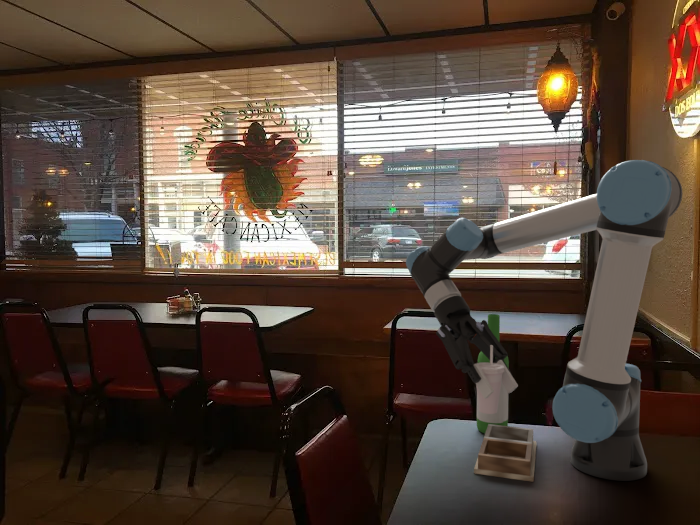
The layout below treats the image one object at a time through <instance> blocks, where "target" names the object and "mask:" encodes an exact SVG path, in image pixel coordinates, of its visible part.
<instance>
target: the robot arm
mask: <svg viewBox="0 0 700 525" xmlns="http://www.w3.org/2000/svg"><path fill="white" fill-rule="evenodd" d="M682 200H683V186H682V184H681V182H680V179H679V178H678V177H677V175H676V174H675V173H674V172H672V171H671V170H669V169H668V168H665V167H664V166H661V165H659V164H658V163H656V162H654V161H651V160H650V161H649V160H644V159H641V160H640V159H630V160H625V161H622V162H620V163H617V164H616V165H614V166H612V167H611V168H609V170H607V172H605V174H604V175H603V176H602V177H601V179H600V181H599V183H598V186H597V189H596V193H594V194H590V195H588V196H584V197H580V198H576V199H573V200H569V201H566V202H563V203H560V204H557V205H553V206H550V207H549V206H548V207H546V208H543V209H539V210H536V211H532V212H530V213H529V212H528V213H525V214H523V215H519V216H516V217H515V216H514V217H513V218H508V219H505V220H502V221H499V222H495V223H493V224H492V223H491V224H487V225H484V226H482V227H479V226H478V225H477V224H476V223H475V222H474V221H472V219H471V220H470V219H468V218H466V217H459V218H457V219H456V220H455V221H454V222H453V223H451V224H450V225H449V226H448V227H447V228H446V230H445V231H444V233H442V234H441V236H439V237H438V239H437V240H435V242H434V243H433V244H432V246H427V245H424V246H419V247H417V248H416V249H415V250H412V251H411V252H410V253H409V254H408V255H407V257H406V259H405V265H406V268H407V270H408V272H409V273H410V274H409V275H410V277H411V279H413V280H414V282H415V284H416V285H417V287H418V289H419V290H420V292H421V293H422V296H423V297H424V299H425V301H426V303H427V304H428V306H429V307H430V309H431V311H432V312H433V315H434V316H435V318H436V320H437V321H438V323H439V324H440V326H439V328H438V330H436V332H435V334H436V336H437V337H438V338H439V339H440V340H441V342H442V344H443V346H444V348H445V350H446V352H447V353H448V356H449V358H450V359H451V362H452V364H453V366H454V367H455V369H456V370H461V373H463V374H466V373H467V374H468V376H469V378H470V379H471V381H472V382H473V384H475V386H476V385H477V387H478V388H479V390H480V392H481V393H482V395H483V397H484V398H488V397H489V396H490V395H491V394H492V393H493V392H494V390H493V388H492V386H491V385H490V383H489V381H488V380H487V378H486V376H485V375H484V373H483V372H482V370H481V368H480V367H479V365H478V364H476V363H475V362H474V359H473V355H472V352H471V349H470V346H469V343H470V344H472V345H473V344H474V345H475V346H476V347H477V348H478V349H479V350H480V352H481V351H482V353H483V354H484V355H485V356H486V357H487V358H488V359H489V360H490V345H493V363H497V364H501V365H503V366H504V372H503V373H502V381H501V382H502V383H503V385H504V387H505V388H506V390H507V391H508V394H510V393H512V392H513V391H515V390H516V389H517V388H518V387H519V384H518V383H517V381H516V380H515V378H514V377H513V375H512V372H511V370H510V369H509V368H508V367H507V365H506V364H505V362H504V359H505V358H506V357H507V356H509V354H508V351H506V349H505V348H504V346H503V345H502V344H501V342H500V340H499V341H498V340H497V338H496V337H495V336H494V334H493V333H492V331H491V330H490V329H489V326H488V321H486V320H485V319H483V320H482V321H481V322H480V321H476V319H475V318H474V317H472V315H471V308H470V306H469V305H468V303H467V302H466V300H465V298H464V297H463V296H462V293H461V291H459V289H458V287H457V286H456V284H455V283H454V281H453V280H452V278H451V276H450V274H451V273H452V272H453V271H454V270H455V269H456V268H457V267H459V265H460V264H461V263H462V262H463V261H466V260H467V261H468V260H480V259H481V260H486V259H487V260H488V259H492V258H495V257H496V256H498V255H503V254H505V253H509V252H513V251H517V250H521V249H526V248H529V247H533V246H537V245H541V244H545V243H549V242H553V241H557V240H560V239H564V238H565V239H566V238H568V237H572V236H577V235H580V234H585V233H589V232H592V231H597V232H598V233H599V235H600V236H601V239H602V240H601V245H600V251H599V254H598V260H597V265H596V270H595V273H594V278H593V282H592V287H591V292H590V296H589V302H588V306H587V310H586V315H585V319H584V320H585V321H584V325H583V329H582V330H583V331H582V333H581V340H580V343H579V348H578V352H577V353H578V354H577V356H576V357H575V358H573V359H572V360H570V361H568V363H567V365H566V371H565V374H564V379H563V384H562V387H560V388H559V389H558V391H557V392H556V393H555V396H554V397H553V401H552V409H551V410H552V414H553V415H552V416H553V417H554V419H555V422H556V423H557V425H558V426H559V427H560V429H561V430H562V432H564V433H565V434H566V435H567V436H568V437H570V438H572V439H574V442H573V444H572V447H571V450H570V464H571V465H572V466H573V467H574V468H575V469H577V470H579V471H580V472H582V473H584V474H586V475H590V476H593V477H596V478H600V479H605V480H610V481H623V482H627V481H636V480H640V479H643V478H645V477H646V475H648V474H647V473H648V462H647V458H646V455H645V451H644V448H643V445H642V442H641V439H640V410H641V409H640V406H641V402H640V400H641V383H642V379H641V370H640V369H639V367H638V366H637V365H634V364H632V363H631V364H630V363H627V360H628V355H629V350H630V346H631V341H632V337H633V333H634V328H635V324H636V319H637V315H638V311H639V307H640V302H641V298H642V294H643V293H642V292H643V289H644V285H645V280H646V275H647V272H648V268H649V263H650V260H651V259H650V258H651V254H652V250H653V247H654V246H655V245H657V244H659V243H660V242H662V241H663V240H664V239H665V234H666V230H667V226H668V221H669V219H670V218H671V217H672V216H673V215H674V214H675V213H676V212H677V210H678V209H679V208H680V207H681V206H680V205H681V204H682V203H681V202H682ZM468 342H469V343H468ZM495 357H496V359H495ZM474 364H475V365H474ZM477 387H476V388H477Z"/></svg>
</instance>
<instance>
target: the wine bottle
mask: <svg viewBox="0 0 700 525" xmlns="http://www.w3.org/2000/svg"><path fill="white" fill-rule="evenodd" d="M487 324H488V326H489V329H490V330H491V331H492V333H493V334H494V336H495V337H496V338H497V340H498V341H499V342H500V325H501V324H500V314H497V313H490V314H488V315H487ZM508 356H509V355H508ZM508 356H507V357H506V358H505V359H504V362H505V364H506V365H507V367H508V368H509V366H510V365H509V363H510V361H509V357H508ZM495 359H496V357H495ZM483 362H488V363H490V360H489V359H488V358H487V357H486V356H485V355H484V354H483V353H482V351H481V350H480V352H479V354H478V356H477V363H483ZM488 424H493V425H502V426H509V393H508V391H507V390H506V388H505V387H504V385H503V383H502V382H501V388H500V395H499V402H498V409H497V413H494V414H486V413H482V412H480V411H479V404H478V395H477V394H476V429H477V430H478V431H479V432H480V433H482V434H484V435H485V433H486V430H487V427H488Z"/></svg>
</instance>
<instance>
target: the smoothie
mask: <svg viewBox="0 0 700 525" xmlns="http://www.w3.org/2000/svg"><path fill="white" fill-rule="evenodd" d="M475 364H478V365H479V367H480V368H481V370H482V372H483V373H484V375H485V376H486V378H487V380H488V381H489V383H490V385H491V386H492V388H493V390H494V392H493V393H492V394H491V395H490V396H489V397H488V398H484V397H483V395H482V393H481V392H480V390H479V388H478V387H477V385H476V384H475V386H476V396H477V395H478V404H479V411H480V412H482V413H486V414H494V413H497V409H498V402H499V395H500V388H501V381H502V373H503V372H504V366H503V365H501V364H497V363H493V345H490V363H488V362H483V363H478V362H476V363H474V364H473V365H475Z"/></svg>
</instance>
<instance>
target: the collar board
mask: <svg viewBox="0 0 700 525" xmlns="http://www.w3.org/2000/svg"><path fill="white" fill-rule="evenodd" d="M536 456H537V441H536V440H534V428H529V427H528V428H527V427H526V428H525V427H517V426H512V425H511V426H510V425H508V426H502V425H493V424H488V427H487V430H486V433H485V434H484V436H483V439H482V442H481V445H480V447H479V450H478V454H477V459H476V462H475V465H474V468H473V474H475V475H484V476H488V477H489V476H490V477H498V478H505V479H511V480H518V481H525V482H531V483H534V481H535V480H534V479H535V467H536Z"/></svg>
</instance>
